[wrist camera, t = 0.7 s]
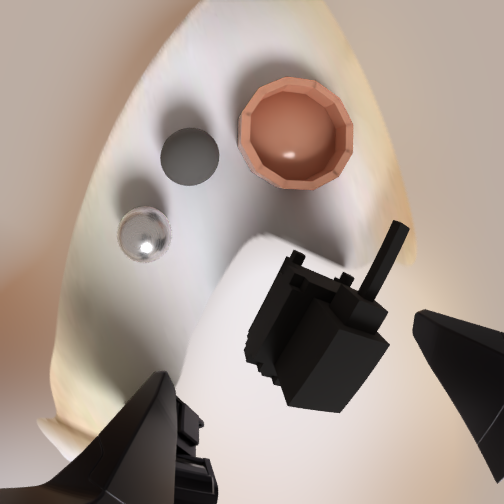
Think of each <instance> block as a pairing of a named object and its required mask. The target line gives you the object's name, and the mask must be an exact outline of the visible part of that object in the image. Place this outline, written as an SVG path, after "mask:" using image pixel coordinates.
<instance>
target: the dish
mask: <svg viewBox="0 0 504 504" xmlns="http://www.w3.org/2000/svg"><path fill="white" fill-rule="evenodd" d="M238 148H239V150H240V152H241V154H242V156H243V157H244V159H245V161H246V163H247V165H248V167H249V168H250V170H251V172H252V173H254V174H256V175H257V176H259V177H261V178H262V179H264V180H265V181H267V182H268V183H270V184H272V185H273V186H275V187H278V188H283V189H301V190H315V189H317V188H319V187H320V186H322V185H324V184H326V183H328V182H330V181H332V180H334V179H335V178H337V177H339V175H340V174H341V172H342V170H343V169H344V167H345V165H346V164H347V162H348V160H349V159H350V157H351V155H352V153H353V123H352V121H351V119H350V117H349V115H348V113H347V111H346V109H345V107H344V105H343V103H342V101H341V99H340V98H339V97H337V96H336V95H335V94H333V93H332V92H331V91H329V90H328V89H327V88H325V87H324V86H322V85H321V84H320V83H318V82H317V81H314V80H308V79H301V78H294V77H284V78H281V79H279V80H276V81H274V82H271V83H269V84H266V85H264V86H262V87H259V88H258V90H257V91H256V93H255V94H254V95H253V97H252V98H251V100H250V101H249V103H248V104H247V105H246V107H245V108H244V110H243V111H242V113H241V115H240V117H239V119H238Z"/></svg>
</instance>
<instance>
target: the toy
mask: <svg viewBox="0 0 504 504" xmlns="http://www.w3.org/2000/svg"><path fill="white" fill-rule="evenodd" d="M409 230H410V228H409V227H407V226H406V225H404V224H403V223H401V222H398V221H395V220H393V222H392V224H391V226H390V229H389V231H388V233H387V235H386V237H385V239H384V241H383V243H382V246H381V248H380V250H379V252H378V254H377V256H376V258H375V260H374V262H373V264H372V266H371V268H370V270H369V272H368V273H367V275H366V277H365V279H364V281H363V283H362V285H361V287H360V288H359V290H358V291H357V290H355V289H352V288H351V287H350V286H351V284H352V282H353V281H354V277H352V276H351V275H349V274H347V273H345V272H343V273H342V275H341V277H340V279H338V278H336V277H335V278H334V280H332V279H330V278H328V277H325V276H323V275H321V274H318V273H316V272H314V271H311V270H309V269H307V268H304V267H302V266H301V265H302V263H303V261H304V259H305V255H304V254H302V253H300V252H298V251H296V250H293V252H292V254H291V256H290V257H287V256H286V258H285V260H284V262H283V264H282V266H281V268H280V270H279V272H278V274H277V276H276V278H275V280H274V282H273V284H272V286H271V288H270V290H269V292H268V294H267V296H266V298H265V300H264V302H263V304H262V306H261V308H260V310H259V311H258V314H257V315H256V317H255V319H254V321H253V323H252V325H251V327H250V329H249V331H248V332H249V333H248V335H247V338H248V340H247V342H246V343H245V344H246V347H245V349H244V352H245V357H246V362H248V363H251V364H255V365H257V368H258V372H261V374H262V376H266V377H270V378H272V381H273V384H274V385H277V386H281V388H282V391H283V394H284V397H285V400H286V403H287V405H288V406H291V407H297V408H303V409H310V410H318V411H325V412H334V413H340V412H341V411H342V410H343V409H344V407H345V406H346V405H347V404H348V402H349V401H350V400H351V399H352V397H353V396H354V395H355V394H356V392H357V391H358V390H359V388H360V387H361V386H362V384H363V383H364V382H365V380H366V379H367V378H368V376H369V375H370V373H371V372H372V370H373V369H374V368H375V366H376V365H377V363H378V362H379V360H380V359H381V357H382V356H383V355H384V353H385V352H386V350H387V349H388V347H389V346H390V344H389V343H388V342H387V341H386V340H385V339H384V338H383V337H382V336H381V335H380V334H379V333H378V332H377V330H378V329H379V327H380V326H381V324H382V322H383V321H384V319H385V317H386V316H387V314H388V311H387V310H386V309H384V308H383V307H382V306H381V305H380V304H378V303H377V302H376V301H375V300H374V299H375V298H376V296H377V294H378V292H379V290H380V289H381V287H382V285H383V283H384V281H385V279H386V277H387V275H388V273H389V271H390V270H391V268H392V266H393V264H394V262H395V260H396V257H397V255H398V253H399V251H400V249H401V247H402V245H403V243H404V241H405V238H406V236H407V234H408V232H409Z"/></svg>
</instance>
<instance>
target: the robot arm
mask: <svg viewBox="0 0 504 504" xmlns="http://www.w3.org/2000/svg"><path fill="white" fill-rule="evenodd" d="M413 336H414V338H415V340H416V341H417V343H418V345H419V347H420V349H421V351H422V353H423V355H424V357H425V358H426V360H427V362H428V364H429V365H430V367H431V369H432V371H433V372H434V374H435V375H436V377H437V378H438V380H439V381H440V383H441V384H442V386H443V387H444V389H445V390H446V392H447V394H448V395H449V397H450V398H451V400H452V402H453V404H454V405H455V407H456V408H457V410H458V412H459V413H460V415H461V417H462V418H463V420H464V422H465V424H466V425H467V427H468V429H469V431H470V432H471V434H472V436H473V438H474V440H475V441H476V443H477V444H478V447H479V449H480V451H481V453H482V455H483V457H484V459H485V460H486V463H487V465H488V467H489V468H490V471H491V473H492V475H493V477H494V479H495V481H496V482H497V484H498V483H499V482H500V481H502V480H503V479H504V333H503V332H499V331H496V330H493V329H490V328H486V327H483V326H480V325H476V324H473V323H470V322H466V321H463V320H459V319H456V318H453V317H449V316H446V315H443V314H439V313H436V312H432V311H429V310H426V309H425V310H421V311H418V312H417V313H416V314H415V317H414V324H413ZM202 427H204V422H203V420H201V419H200V418H199V416H198V415H197V414H196V413H195V412H194V411H192V410H191V408H189V407H188V406H187V405H186V404H185V403H183V402H182V401H181V400H180V399H179V398H178V397H177V396H176V391H175V387H174V385H173V383H172V381H171V379H170V377H169V375H168V373H167V372H166V371H158V372H154V373H153V374H152V375H151V376H150V378H149V379H148V380H147V381H146V382H145V383H144V384H143V385H142V387H141V388H140V389H139V390H138V391H137V392H136V393H135V394H134V396H133V397H132V398H131V399H130V400H129V401H128V402H127V403H126V404H125V406H124V407H123V408H122V409H121V410H120V411H119V412H118V413H117V415H116V416H115V417H114V418H113V419H112V420H111V421H110V422H109V423H108V425H107V426H106V427H105V428H104V429H103V430H102V431H101V432H100V433H99V435H98V436H97V437H96V438H95V439H94V440H93V441H92V442H91V443H90V444H89V445H88V446H87V447H86V449H85V450H84V451H83V452H82V453H81V454H79V455H78V456H77V457H76V458H75V459H74V460H73V461H72V462H71V463H70V464H69V465H67V466H66V467H65V468H64V469H63V470H62V471H60V472H59V473H58V474H57V475H56V476H55V477H54V478H52V479H51V480H50V481H48V482H46V483H44V484H42V485H39V486H32V487H20V488H2V489H0V504H217V500H218V485H217V482H216V479H215V476H214V472H213V469H212V466H211V463H210V459H207V458H198V457H196V445H198V444H199V428H202Z"/></svg>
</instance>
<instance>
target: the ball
mask: <svg viewBox="0 0 504 504" xmlns="http://www.w3.org/2000/svg"><path fill="white" fill-rule="evenodd" d="M160 158H161V165H162V168H163V171H164V172H165V174H166V175H167V176H168V178H170V179H171V180H172V181H174V182H175V183H178V184H180V185H185V186H193V185H197V184H200V183H202V182H204V181H206V180H207V179H208V178H210V177H211V176H212V174H213V173H214V172H215V170H216V168H217V165H218V162H219V150H218V146H217V144H216V142H215V140H214V139H213V138H212V137H211V136H210V135H209V134H208V133H206V132H205V131H203V130H200V129H196V128H186V129H182V130H179V131H177V132H175V133H174V134H172V135H171V136H170V137H169V138H168V139H167V140H166V142H165V143H164V145H163V148H162V151H161V157H160Z"/></svg>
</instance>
